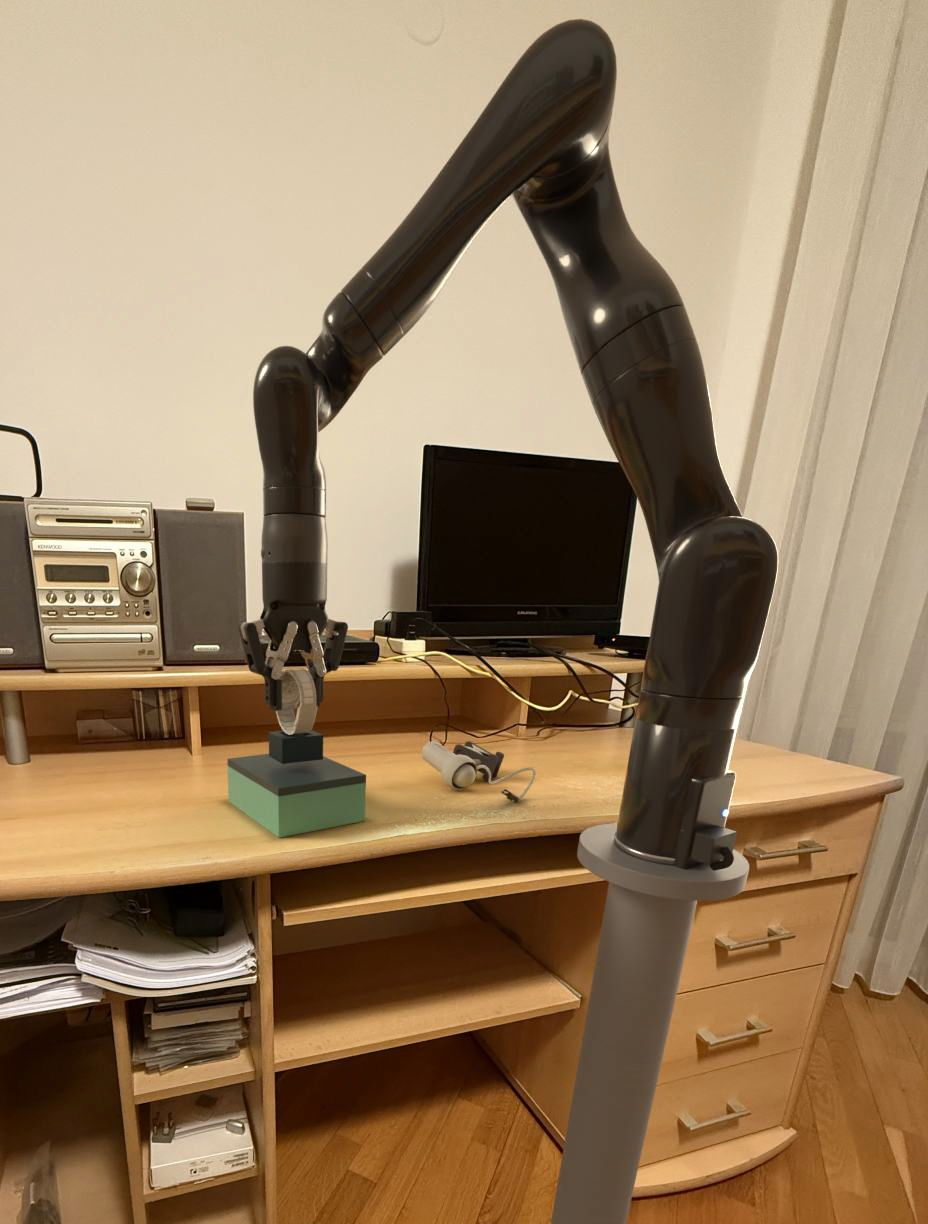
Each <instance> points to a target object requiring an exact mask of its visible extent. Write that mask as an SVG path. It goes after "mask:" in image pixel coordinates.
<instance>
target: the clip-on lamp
mask: <svg viewBox="0 0 928 1224" xmlns="http://www.w3.org/2000/svg"><path fill="white" fill-rule="evenodd" d="M504 757H505V754H504V753H503V752H500V751H496V752H495V754H494V753H492V752H491V751H489V750H487V749H485V748H483V747H481V746H479V745H478V744H476V743H474V742H473V741H471V740H468V741H465V743H464V745H463V744H461V743H458V744H456V745H454V747H453V751H451V750H450V749H448V748H446V747H445V745H443V744H441V743H439V742H438V741H437V740H436V741H435V740H432V741H428V742H427V743H426V744H424V746H423V747H422V750H421V758H422V759H423V760H424V761H425V762H426V763H427V764H428V765H430V766H431V767H432V768H434V769H435V770H436V771H437V772H439V773H440V774H441V778H442V780H443V782H444V784H445V785H447V786H448V787H449V788H450V789H452V790H458V791H462V790H465V789H467V788H469V786H471V785H472V784H473V783H474V781H476V780H475V779H476V777H477V775H478V772H479V773H481V774H482V779H483V781H485V782H488V785H489V786H494V785H496V784H499V783H501V782H503V781H505V780H508V779H509V778H511V777H513V776H516V775H518V774H521V773H522V772H526V771H531V772H532V776H531V778H530V780H529V782H528V784H527V786H526V788H524V790H523V791H522V792H521V794H520V795H519V796H517V795H516V794H514V793H512V792H511V791H510V790H508V789H506V788H504V789H503V790H502V791H501V794H502V795H504V796H506V799H507V800H509V801H510V802H512V801H513V802H514V803H519V802H520V800H521V799H523V797H524V796H525V795H526V794H527V792H528V791H529V789H530V788H531V786H532V784H533V782H534V780H535V777H536V769H535V768H534V767H530V766H527V767H523V768H520V769H516V770H515V771H512V772H510V773H508V774H505V775H504V776H502V777H500V778H497V777H498V774H499V771H500V768H501V766H502V763H503V760H504ZM496 778H497V779H496ZM492 780H493V781H492Z"/></svg>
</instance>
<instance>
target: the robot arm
mask: <svg viewBox="0 0 928 1224" xmlns="http://www.w3.org/2000/svg"><path fill="white" fill-rule="evenodd" d="M617 65H618V64H617V55H616V51H615V46H614V43H613V41H612V39H611V37H610V36H609V33H607V32H606V31H605V29H604V28H602V26H601V25H599V24H598V23H596V22H594V21H592V20H588V19H584V18H575V19H568V20H565V21H562V22H560V23H557V24H555V25H553V26H552V27H550V28H549V29H547V30H546V31H544V32H543V33H542V34H540V36H538V37H537V38H536V39H535V40H534V41H533V43H531V44H530V45H529V46H528V47H527V49H526V50H525V51H524V52H523V54H522V55H521V56H520V58H519V59H518V60H517V61H516V63H515V64H514V66H513V67H512V68H511V70H510V71H509V72H508V74H507V76H505V78H504V79H503V81H502V82H501V84H500V86H499V87H498V88H497V90H496V92H495V93H494V95H493V96H492V97H491V98H490V100H489V101H488V103H487V104H486V106H485V108H483V110H482V112H481V114H480V115H479V117H478V118H477V119H476V121H475V122H474V124H473V125H472V127H471V128H470V130H469V131H468V132H467V133H466V135H465V136H464V138H463V139H462V141H461V142H460V143H459V145H458V146H457V148H456V149H455V150H454V151H453V153H452V154H451V155H450V157H449V159H448V160H447V162H446V163H445V164H444V166H443V167H442V168H441V170H440V171H439V172H438V174H437V175H436V177H435V178H434V179H433V181H432V182H431V183H430V185H429V186H428V188H427V189H426V191H425V192H424V193H423V194H422V196H421V197H420V198H419V199H418V200H417V202H416V203H415V205H414V206H413V207H412V208H411V210H410V211H409V212H408V214H407V215H406V216H405V218H404V219H403V220H402V221H401V222H400V224H399V225H398V226H397V228H396V229H395V230H394V231H393V232H392V233H391V235H390V236H389V237H388V238H387V240H385V241H384V243H382V245H381V246H380V247H379V248H378V250H376V252H375V253H374V254H373V255H372V256H371V257H370V258H369V259H368V260H367V261H366V262H365V263H364V265H363V266H361V268H360V269H359V270H357V272H356V273H355V274H354V275H353V277H351V279H350V280H348V282H347V283H346V284H345V285H344V286H343V287H342V289H340V292H338V293H337V294H336V295H335V296H334V297H333V298H332V299H331V301H330V303H329V304H328V305H327V307H326V308H325V310H324V312H323V315H322V323H321V324H322V325H321V326H322V328H321V331H320V333H319V335H318V336H317V338H316V339H315V340H314V342H313V343H312V345H311V346H310V347H309V348H308V349H307V351H306V352H304V351H303V350H301V349H300V348H297V347H295V346H292V345H281V346H277V347H275V348H273V349H271V350H270V351H269V352H267V353H266V355H264V357H263V358H262V359H261V361H260V363H259V365H258V367H257V369H256V373H255V375H254V380H253V388H252V389H253V390H252V406H253V407H252V408H253V416H254V425H255V430H256V431H255V432H256V437H257V443H258V450H259V451H258V452H259V455H260V460H261V465H262V471H263V472H262V473H263V474H262V475H263V477H262V494H263V495H262V504H263V505H262V506H263V510H262V512H263V517H262V518H263V519H262V530H261V550H260V557H261V577H262V578H261V584H262V585H261V587H262V588H261V589H262V591H261V593H262V598H261V599H262V604H263V609H262V612H261V614H260V617H259V618H258V619H255V620H252V621H240V622H239V624H238V625H237V629H238V633H239V637H240V641H241V644H242V647H243V650H244V656H245V659H246V662H247V666H248V670H249V671H250V672H251V673H254V674H256V675H259V676H261V677H262V678H263V679H264V702H265V704H266V705H267V706H268V708H269V710H271V711H274V712H276V711H281V710H283V709H282V680H280V679H279V678H280V676H281V673H282V671H283V669H284V666H285V662H287V661H288V658H289V655H290V652H296V651H300V655H301V657H302V658H303V659H304V662H305V666H306V668H307V669H306V670H307V671H309V673H310V675H311V676H312V678H313V681H314V685H315V686H314V687H315V689H316V706H317V708H320V707H321V703H323V701H324V698H325V697H324V696H325V695H324V690H325V689H324V688H325V685H324V684H325V683H324V682H325V676H326V675H327V674H329V673H330V672H336V671H338V670H339V667H340V663H341V659H342V655H343V650H344V646H345V642H346V638H347V633H348V629H349V625H348V623H347V622H345V621H340V620H338V621H337V620H334V619H330V618H329V616H328V613H327V611H326V603H327V601H328V546H329V545H328V531H327V518H326V516H327V477H326V470H325V468H324V465H323V463H322V460H321V456H320V451H319V433H320V432H321V431H323V430H324V429H325V428H326V427H327V426H328V425H329V424H330V423H331V422H332V421H333V420H335V418H336V417H337V416H338V415H339V414H340V412H341V411H342V410H343V408H344V406H345V405H346V404H347V403H348V401H349V400H350V399H351V397H352V396H353V394H354V393H355V392H356V391H357V389H358V387H359V386H360V385H361V383H362V381H363V380H364V379H365V377H366V375H367V374H368V372H369V371H370V370H371V369H372V368H373V367H374V366H376V364H377V363H379V362H380V361H381V360H382V359H383V358H384V357H385V356H386V355H387V354H388V353H389V352H390V351H391V350H392V349H393V348H394V347H395V346H396V345H397V344H398V342H400V341H401V340H402V339H403V338H404V337H405V336H406V335H407V334H408V333H409V332H410V331H411V330H412V329H413V328H414V327H415V325H416V324H417V323H418V322H419V321H420V320H421V319H422V317H424V315H425V314H426V313H427V311H428V310H429V309H430V307H431V306H432V305H433V303H434V302H435V300H436V299H437V297H438V296H439V294H440V293H441V291H442V290H443V288H444V287H445V285H446V283H447V281H448V280H449V278H450V276H452V274H453V272H454V271H455V269H456V267H457V266H458V264H459V263H460V261H461V259H462V258H463V256H464V255H465V254H466V252H467V251H468V249H469V247H470V246H471V244H472V243H473V242H474V241H475V239H476V238H477V236H478V235H479V234H480V233H481V231H482V229H484V227H485V226H486V224H487V223H488V222H489V221H490V220H491V218H492V217H493V216H494V215H495V214H496V213H497V211H498V210H499V209H500V208H501V207H502V206H503V205H504V204H505V203H506V202H507V201H509V199H510V198H511V197H512V198H513V201H514V202H515V204H516V206H517V208H518V210H519V212H520V214H521V216H522V218H523V219H524V222H525V223H526V226H527V227H528V230H529V231H530V233H531V235H532V237H533V239H534V241H535V243H536V245H537V247H538V250H539V252H540V253H541V256H542V257H543V259H544V262H545V264H546V266H547V268H548V271H549V273H550V275H551V278H552V281H553V283H554V287H555V291H556V293H557V298H558V301H559V306H560V310H561V312H562V317H563V320H564V324H565V327H566V331H567V334H568V337H569V341H570V343H571V346H572V349H573V353H574V356H575V359H576V363H577V366H578V369H579V372H580V376H581V378H582V381H583V383H584V386H585V388H586V391H587V394H588V396H589V399H590V402H591V405H592V407H593V410H594V413H595V414H596V416H597V419H598V422H599V424H600V427H601V428H602V431H603V433H604V436H605V437H606V440H607V443H608V444H609V446H610V448H611V450H612V452H613V454H614V456H615V458H616V460H617V462H618V464H619V466H620V467H621V469H622V471H623V473H624V475H625V476H626V479H627V480H628V482H629V484H630V486H631V488H632V490H633V492H634V494H635V496H636V498H637V500H638V503H639V507H640V508H641V511H642V515H643V517H644V521H645V524H646V528H647V531H648V536H649V539H650V543H651V547H652V551H653V555H654V556H653V557H654V560H655V565H656V571H657V575H658V576H657V577H658V585H657V593H656V598H655V603H654V609H653V610H654V611H653V616H652V622H651V629H650V635H649V639H648V645H647V650H646V655H645V661H644V664H643V672H642V679H641V685H640V690H639V696H638V702H637V708H636V712H635V713H636V714H635V718H634V725H633V731H632V737H631V741H630V749H629V754H628V760H627V765H626V772H625V778H624V783H623V789H622V796H621V800H620V801H621V802H620V806H619V814H618V818H617V819H618V820H617V822H616V823H617V831H616V833H615V836H614V844H615V846H616V847H617V848H618V849H620V850H621V851H623V852H625V853H627V854H629V855H631V856H633V857H636V858H639V859H642V860H645V861H649V862H654V863H658V864H664V865H671V866H675V867H678V868H681V869H689V868H692V867H695V866H698V865H701V864H704V863H706V864H710V868H711V869H712V870H714V871H715V870H720V869H725V868H728V867H730V866H731V865H732V863H733V861H734V856H733V853H732V852H733V849H734V848H735V843H736V839H737V836H738V831H736V830H733V829H731V828H730V829H729V828H726V822H727V819H728V815H729V813H730V810H729V809H730V804H731V801H732V796H733V794H734V793H733V792H734V787H735V784H736V779H737V773H736V772H735V771H732V770H729V767H730V763H731V759H732V754H733V749H734V746H735V741H736V737H737V736H736V735H737V731H738V727H739V722H740V718H741V714H742V711H743V710H742V709H743V704H744V700H745V696H746V692H747V688H748V685H749V681H750V678H751V675H752V672H753V671H754V669H755V666H756V664H757V660H758V657H759V653H760V649H761V645H762V641H763V636H764V633H765V629H766V626H767V620H768V617H769V613H770V608H771V604H772V600H773V596H774V593H775V587H776V582H777V577H778V571H779V551H778V548H777V544H776V542H775V540H774V538H773V536H772V535H771V533H770V532H769V531H768V530H767V529H766V528H765V527H764V526H762V525H761V524H759V523H758V522H756V521H754V520H752V519H749V518H746V517H744V515H743V514H742V511H741V510H740V508H739V506H738V504H737V501H736V499H735V496H734V494H733V492H732V490H731V488H730V485H729V483H728V481H727V479H726V476H725V473H724V470H723V468H722V465H721V462H720V457H719V453H718V448H717V442H716V441H717V440H716V433H715V427H714V419H713V410H712V403H711V398H710V397H711V396H710V391H709V386H708V380H707V376H706V375H707V374H706V372H705V371H706V370H705V367H704V363H703V358H702V355H701V354H702V353H701V350H700V347H699V343H698V340H697V337H696V334H695V332H694V329H693V326H692V322H691V319H690V317H689V314H688V311H687V309H686V306H685V304H684V301H683V298H682V297H681V295H680V292H679V290H678V287H677V286H676V284H675V282H674V280H673V279H672V277H671V276H670V275H669V273H668V272H667V271H666V269H665V268H664V267H663V266H662V264H661V263H660V262H659V261H658V260H657V259H656V258H655V257H654V256H653V254H652V253H650V251H649V250H648V249H647V248H646V247H645V246H644V245H643V243H641V241H640V240H639V239H638V238H637V236H636V234H635V232H634V231H633V229H632V227H631V225H630V223H629V221H628V219H627V216H626V213H625V211H624V208H623V203H622V201H621V197H620V193H619V190H618V186H617V183H616V179H615V174H614V171H613V166H612V161H611V156H610V155H611V154H610V148H609V137H610V135H609V133H610V128H611V123H612V117H613V111H614V110H613V109H614V106H615V98H616V88H617V79H618V76H617V75H618V66H617ZM263 631H264V632H265V634H266V635H267V637H268V638H269V641H268V645H267V649H266V651H265V656H266V658H265V656H264V651H263V648H262V643H261V639H262V637H263ZM323 633H324V634H325V636H326V638H325V644H324V648H323V647H322V643H321V640H320V638H321V637H322V635H323ZM314 701H315V700H314ZM721 860H722V861H721Z"/></svg>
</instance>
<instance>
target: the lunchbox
mask: <svg viewBox="0 0 928 1224" xmlns="http://www.w3.org/2000/svg"><path fill="white" fill-rule="evenodd" d="M226 763H227V791H228V803H230V804H231V805H233V806H234V807H235V808H237V809H238V810H240V811H241V812H242V813H243V814H245V815H246V816H248V817H249V818H251V820H254V821H255V822H256V823H257V824H259V825H260V826H262V827H263V828H264V829H266V830H267V831H269V832H270V833H271V834H273V835H274V836H276V838H279V839H280V838H285V837H290V836H295V835H301V834H305V833H310V832H315V831H320V830H325V829H329V828H330V829H331V828H335V827H340V826H345V825H350V824H355V823H360V822H361V823H362V822H365V820H366V799H367V798H366V797H367V796H366V795H367V774H365V773H364V772H360V771H358V770H356V769H354V768H351V767H349V766H346V765H344V764H342V763H341V762H340V763H339V762H338V761H335V760H333V759H331V758H328V757H326V756H324V755H323V760H314V761H305V762H296V763H288V764H281V763H280V762H278V761H276V760H275V759H273V758H271V757H270V756H269V753H263V754H262V753H261V754H253V755H246V756H239V757H231V758H227V761H226Z"/></svg>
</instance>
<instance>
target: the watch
mask: <svg viewBox="0 0 928 1224" xmlns="http://www.w3.org/2000/svg"><path fill="white" fill-rule="evenodd" d="M279 679H280V680H282V710H281V711H275V713H276V718H277V721H278V724H279V727H281V728H280V729H281V730H275V731H268V754H269V756H270V757H271V758H273V759H275V760H276V761H278V762H280V763H281V764H288V763H296V762H305V761H314V760H323V756H324V734H323V733H320V732H317V731H315V730H314V729H313V728H314V725H315V721H316V717H317V713H318V707H317V706H316V689H315V687H314V686H315V685H314V681H313V678H312V676H311V675H310V673H309V671H308V669H305V668H296V669H293V668H292V669H291V668H289V669H284V670H282V673H281V676H280V678H279ZM314 700H315V701H314ZM298 705H299V706H298ZM295 709H296V714H295ZM295 715H296V716H295Z"/></svg>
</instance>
